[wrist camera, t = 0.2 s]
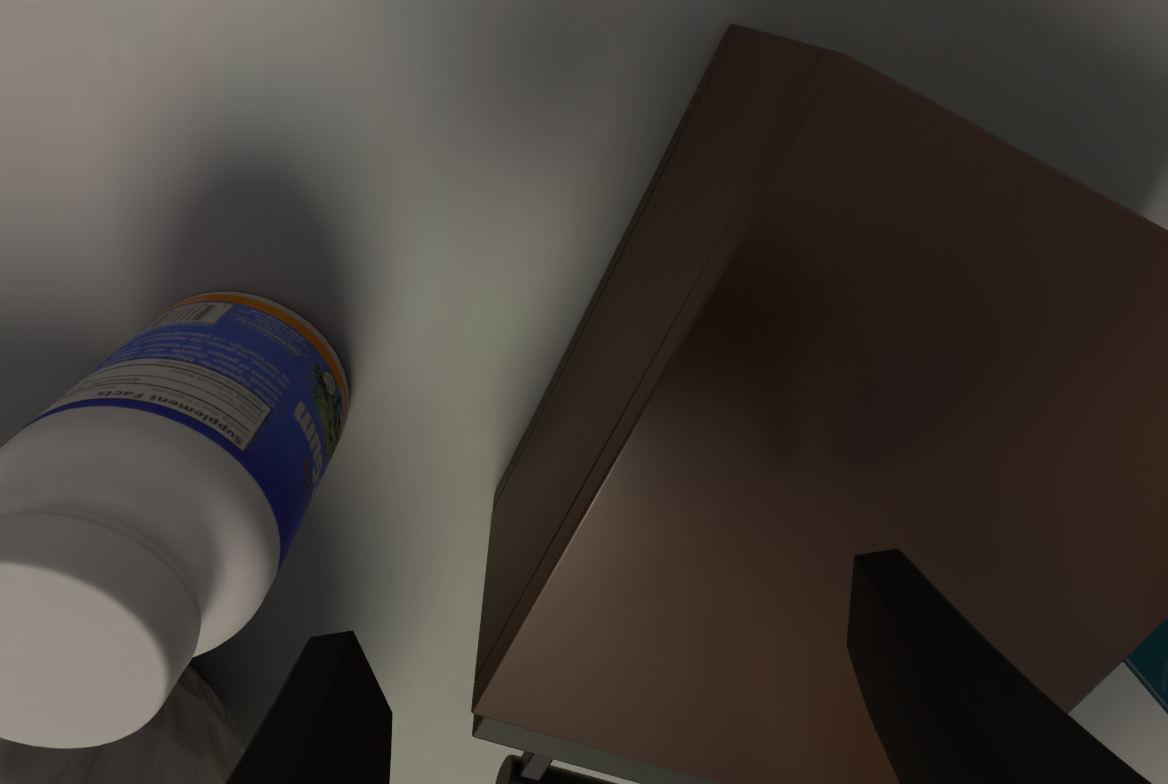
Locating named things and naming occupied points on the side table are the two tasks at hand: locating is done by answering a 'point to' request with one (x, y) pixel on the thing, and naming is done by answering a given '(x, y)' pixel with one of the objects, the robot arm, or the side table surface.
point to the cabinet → (830, 430)
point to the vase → (142, 747)
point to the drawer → (565, 759)
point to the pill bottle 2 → (1152, 664)
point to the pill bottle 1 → (156, 511)
